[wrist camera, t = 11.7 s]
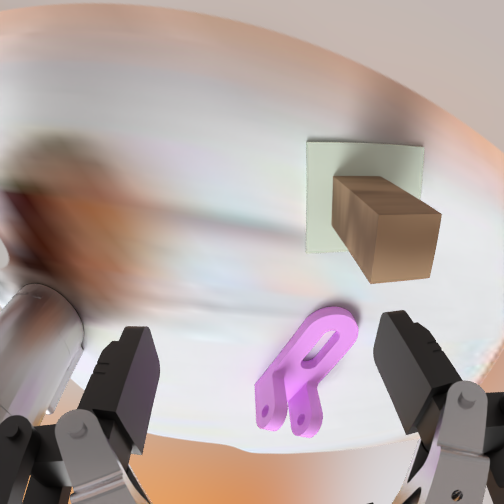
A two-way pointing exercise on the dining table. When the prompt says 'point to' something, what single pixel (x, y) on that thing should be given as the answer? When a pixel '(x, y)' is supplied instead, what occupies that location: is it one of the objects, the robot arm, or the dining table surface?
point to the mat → (352, 164)
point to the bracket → (303, 373)
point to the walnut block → (384, 228)
